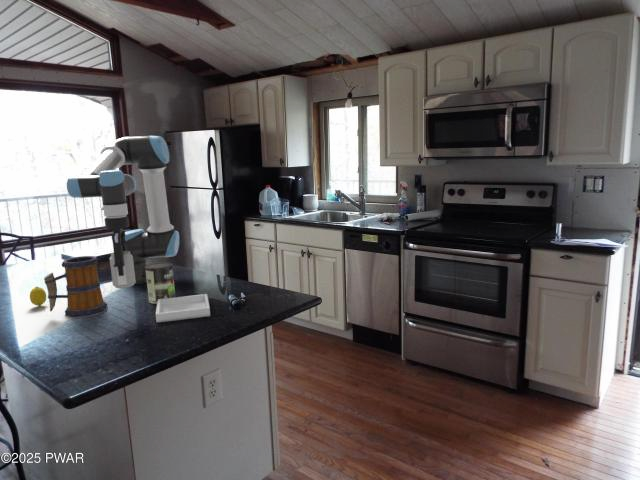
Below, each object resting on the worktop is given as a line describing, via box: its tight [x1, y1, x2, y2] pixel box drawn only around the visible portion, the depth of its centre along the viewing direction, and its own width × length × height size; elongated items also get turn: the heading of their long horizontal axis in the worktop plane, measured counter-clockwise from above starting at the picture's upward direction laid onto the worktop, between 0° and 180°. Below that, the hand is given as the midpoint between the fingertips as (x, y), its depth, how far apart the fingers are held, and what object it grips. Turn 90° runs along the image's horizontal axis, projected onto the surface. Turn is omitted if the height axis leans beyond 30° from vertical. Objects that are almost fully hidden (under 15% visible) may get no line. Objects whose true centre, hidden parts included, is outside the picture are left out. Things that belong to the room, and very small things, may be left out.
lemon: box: [29, 286, 47, 307], centre depth 186 cm, size 6×6×8 cm
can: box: [108, 251, 136, 289], centre depth 167 cm, size 8×8×12 cm
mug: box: [43, 255, 109, 319], centre depth 175 cm, size 19×14×20 cm
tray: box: [155, 293, 211, 324], centre depth 174 cm, size 18×18×3 cm
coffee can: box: [145, 262, 176, 305], centre depth 188 cm, size 10×10×14 cm
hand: (124, 281), depth 168 cm, fingers closed on can, 7 cm apart
